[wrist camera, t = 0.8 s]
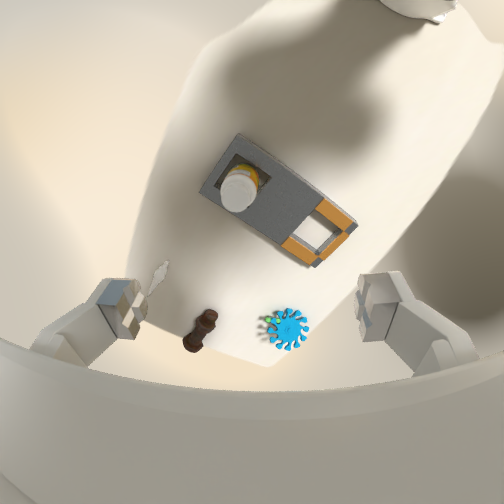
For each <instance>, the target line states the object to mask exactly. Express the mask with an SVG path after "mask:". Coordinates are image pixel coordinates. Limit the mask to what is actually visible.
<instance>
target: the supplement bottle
mask: <svg viewBox="0 0 504 504" xmlns="http://www.w3.org/2000/svg"><path fill="white" fill-rule="evenodd" d="M258 184H259V174H258V172H257V170H256V169H255V168H254V167H253V166H251V165H249V164H245V163H241V164H237V165H235V166H233V167H232V168H231V169H230V171H229V172H228V174H227V176H226V178H225V180H224V181H223V183H222V186H221V190H220V192H221V200H222V204H223V206H224V207H225V208H226V209H227V210H229V211H231V212H241V211H243V210H245V209H246V208H247V207H248V206H249V205H250V204H252V203H253V201H254V200H255V197H256V194H257V189H258Z"/></svg>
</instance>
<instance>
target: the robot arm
mask: <svg viewBox="0 0 504 504" xmlns="http://www.w3.org/2000/svg"><path fill="white" fill-rule="evenodd" d="M380 1H381V2H382V3H383V4H384V5H386V6H387V7H389V8H390V9H392V10H393V11H395V12H397V13H399V14H402V15H404V16H407V17H411V18H424V19H428V20H431V21H433V22H435V23H442V22H444V20H445V17H446V15H447V13H448V12H449V11H452V10H454V9H456V4H457V2H458V0H380ZM357 284H358V287H359V290H358V291H357V292H356V294H355V300H354V309H355V315H356V318H357V319H358V320H359V321H360V325H359V330H360V334H361V338H362V342H371V341H383V340H385V342H386V343H387V344H388V345H389V346H390V347H391V348H392V349H393V350H394V352H396V354H397V355H398V356H400V358H401V359H402V360H403V361H404V362H405V363H406V364H407V365H408V366H409V367H410V368H411V369H412V370H413V371H414V372H415V373H414V374H413V376H412V377H411V378H407V379H402V380H396V381H391V382H385V383H378V384H372V385H364V386H356V387H347V388H337V389H326V390H312V391H285V392H254V391H253V392H251V391H228V390H227V391H226V390H213V389H201V388H192V387H183V386H175V385H167V384H161V383H154V382H148V381H142V380H136V379H132V378H127V377H122V376H117V375H113V374H108V373H104V372H100V371H96V370H92V369H89V368H88V366H89V365H90V364H91V363H92V362H93V361H94V360H95V359H96V358H97V357H99V356H100V355H101V353H103V352H104V351H105V350H106V349H107V348H108V347H109V346H110V345H112V344H113V342H115V341H116V340H117V338H120V339H130V340H135V338H136V335H137V333H138V331H139V329H140V325H139V323H140V322H141V321H142V320H144V319H145V317H146V314H147V307H148V306H147V301H146V298H145V296H144V295H143V294H142V293H141V292H140V289H141V286H140V284H139V282H138V280H136V279H125V278H105V279H102V281H101V282H100V283H99V285H98V286H97V287H96V289H95V290H94V292H93V293H92V294H91V296H90V297H89V299H88V300H87V302H86V303H82V304H81V305H79V306H77V307H76V308H74V309H73V310H71V311H69V312H68V313H66V314H65V315H63V316H62V317H60V318H59V319H57V320H56V321H54V322H53V323H51V324H50V325H48V326H47V327H45V328H44V329H42V330H41V332H40V333H39V335H38V336H37V338H36V339H35V341H34V343H33V344H32V346H31V347H30V349H26V348H24V347H21V346H19V345H16V344H14V343H11V342H9V341H7V340H4V339H2V338H0V504H504V351H501V352H499V353H496V354H493V355H491V356H488V357H485V358H482V359H480V358H479V356H478V354H477V352H476V349H475V347H474V345H473V343H472V341H471V339H470V337H469V335H468V334H467V332H465V331H464V330H463V329H461V328H460V327H458V326H457V325H455V324H454V323H453V322H451V321H450V320H448V319H447V318H445V317H444V316H442V315H441V314H439V313H438V312H436V311H435V310H434V309H432V308H431V307H429V306H428V305H426V304H425V303H423V302H422V301H420V300H417V301H416V299H415V297H414V296H413V294H412V292H411V290H410V288H409V286H408V284H407V283H406V281H405V279H404V277H403V275H402V274H401V272H400V271H391V272H385V273H369V274H360V275H359V278H358V283H357Z"/></svg>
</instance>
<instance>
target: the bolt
mask: <svg viewBox="0 0 504 504" xmlns="http://www.w3.org/2000/svg"><path fill="white" fill-rule="evenodd" d="M217 318H218V314H217V312H216V311H214V310H211V309H208V310H206V312H205V313H204V315H201V316H200V317H199V318H197V320H196V328H195V329H194V331H193V332H192V334H191V333H190V334H188V335H187V336H185V337H184V338H183V345H184V347H185V349H186V350H188V351H190V352H193V353H196V352H198V351H199V350H200V349H201V348H202V347H203V343H202V340H203V338H204V337H205V335H206V334H208V333H210V332H211V331H212V330H213V329H214V328H215V327H216V326H215V321H216V320H217Z"/></svg>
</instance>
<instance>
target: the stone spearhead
mask: <svg viewBox="0 0 504 504" xmlns="http://www.w3.org/2000/svg"><path fill="white" fill-rule="evenodd" d="M168 264H169V261H168V260H166V261H165V262H164V264H163V265H161V266H160V267H159V268H158V269H157V270H156V271H155V273H154V274H153V277H154V279H153V281H152V283H151V287H150V290H149V293H148V296H149V295H150V294H151V292H152V291H153V290H154V289H155V288H156V287H157V285H158V284H159V282H161V281H163V280H164V278H165V276H166V272H167V266H168ZM148 296H147V297H148Z"/></svg>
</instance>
